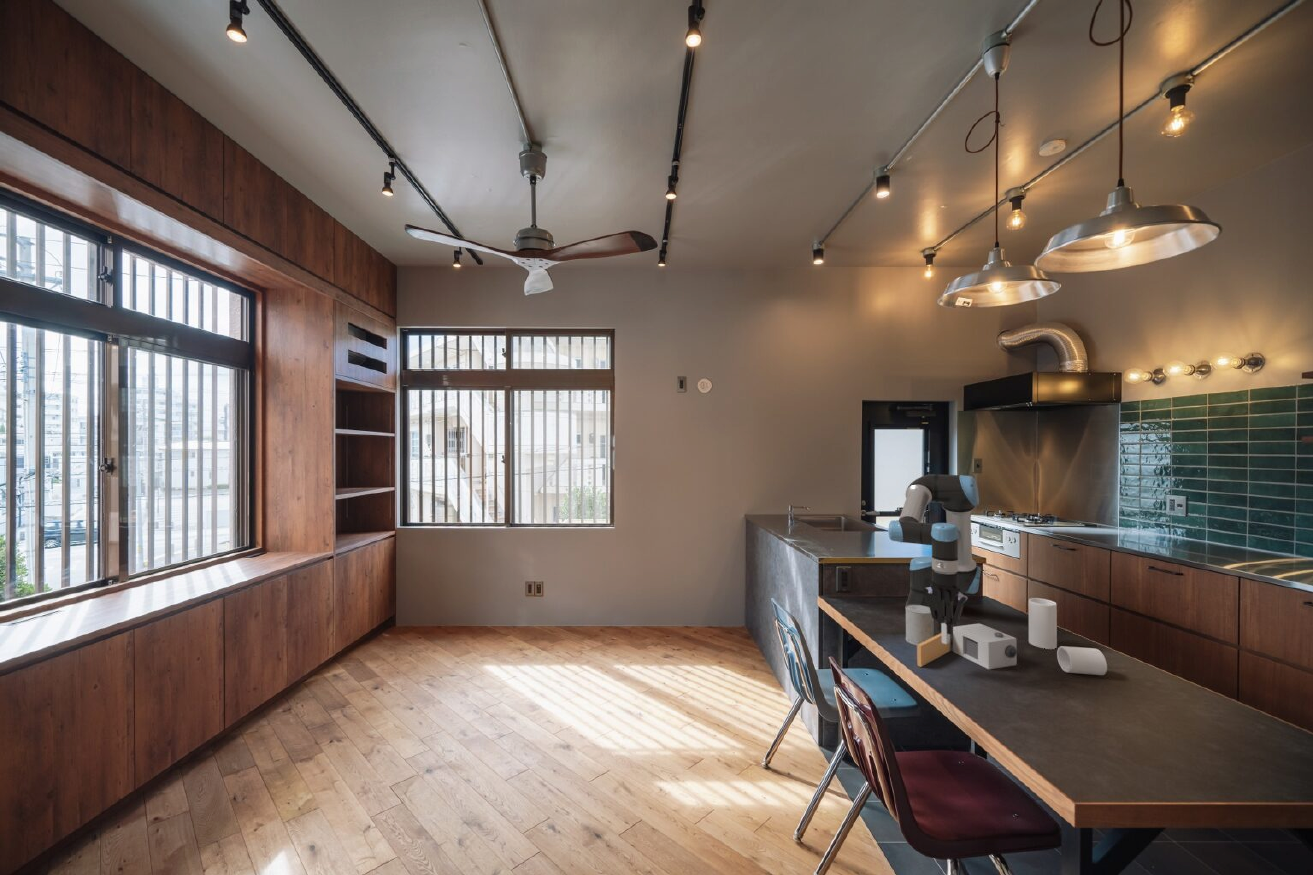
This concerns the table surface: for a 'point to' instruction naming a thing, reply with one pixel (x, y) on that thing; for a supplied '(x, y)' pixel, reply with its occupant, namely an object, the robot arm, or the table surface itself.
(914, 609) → the grey mottled cylinder
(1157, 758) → the table surface
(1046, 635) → the cup
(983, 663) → the knobbed white cabinet
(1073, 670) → the mug
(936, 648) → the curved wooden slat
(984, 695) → the table surface
